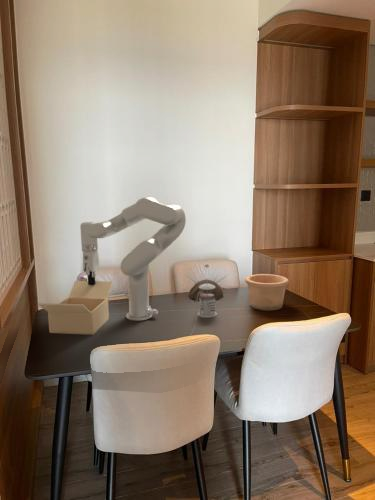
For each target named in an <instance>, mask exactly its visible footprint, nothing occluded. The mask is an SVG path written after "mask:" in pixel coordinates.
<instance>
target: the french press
mask: <svg viewBox="0 0 375 500" xmlns="http://www.w3.org/2000/svg"><path fill="white" fill-rule="evenodd" d="M204 267H205V268H209V267H210V264H205V265H204ZM199 288H200V289H202V290H212V289H215V286H214V285H212V284H208V283H207V284H203V285H201V286H199ZM199 293H201V291H200V292H199ZM199 293H198V294H199ZM200 296H201V297H200V298H199V301H196V303H197V305H198V309H199V311H198V313H197V316H199V317H200V318H214V317H216V316H217V315H218V313H217V312H216V300H215V297H214V294H212V293H204V292H202V293H201V294H200ZM197 297H198V295H197ZM201 299H203V301H202V300H201ZM198 302H199V303H198Z"/></svg>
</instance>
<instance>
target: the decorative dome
mask: <svg viewBox="0 0 375 500" xmlns="http://www.w3.org/2000/svg"><path fill="white" fill-rule="evenodd" d="M207 283H208V284H212V285H214V286H215V289H212V290H202V289H200V288H199V286H201V285H203V284H207ZM200 291H201V293H202V292H204V293H212V294H214V297H215V301H218V300H220V299H223V298H224V292H223V289H222V287H221V286H220V284H218V283H217V282H215V281H214V280H212V279H202V280H199V281H197V282H195V284H194V285H193V286H192V287H191V288H190V290H189V299H192V300H193V299H194V300H195V301H196V302H199V301H198V300H199V298H200V297H201V296H200V294H201V293H199V292H200ZM198 293H199V294H198ZM197 295H198V297H197ZM201 300H202V301H203V299H201Z"/></svg>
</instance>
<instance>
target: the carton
mask: <svg viewBox="0 0 375 500" xmlns="http://www.w3.org/2000/svg"><path fill="white" fill-rule="evenodd" d="M108 298H109V297H108ZM108 298H73V297H66V298H64V299H63V300H61V301H60V302H59V303H58V304H83V305H84V306H85V307H86V308H87V309H88V310H89V311H90V312H91V313H66V312H48V311H47V318H48V319H47V320H48V330H49V334H69V335H72V334H73V335H94V334H96V333H97V332H98V330H100V329H101V327H103V326H104V324H106V322H107V321H108V320H109V319H110V315H109V309H110V308H109V299H108Z"/></svg>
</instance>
